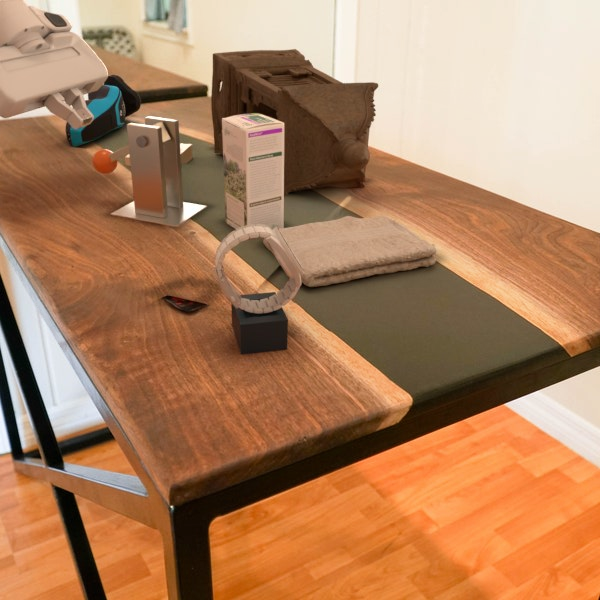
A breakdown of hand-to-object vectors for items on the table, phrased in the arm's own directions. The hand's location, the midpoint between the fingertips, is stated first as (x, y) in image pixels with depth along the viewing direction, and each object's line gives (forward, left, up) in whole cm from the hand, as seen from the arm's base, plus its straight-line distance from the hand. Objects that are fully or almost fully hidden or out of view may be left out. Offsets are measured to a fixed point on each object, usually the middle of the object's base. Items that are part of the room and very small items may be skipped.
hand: (85, 124), depth 87 cm
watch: (+41, -10, -11) cm, 44 cm away
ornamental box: (+13, +29, -11) cm, 34 cm away
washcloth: (+37, +10, -11) cm, 40 cm away
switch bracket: (+11, +3, -11) cm, 16 cm away
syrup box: (+23, +8, -11) cm, 27 cm away
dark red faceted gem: (+31, -10, -11) cm, 34 cm away
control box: (-8, +18, -11) cm, 23 cm away
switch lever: (+7, +2, -4) cm, 8 cm away
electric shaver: (-32, +23, -11) cm, 41 cm away
